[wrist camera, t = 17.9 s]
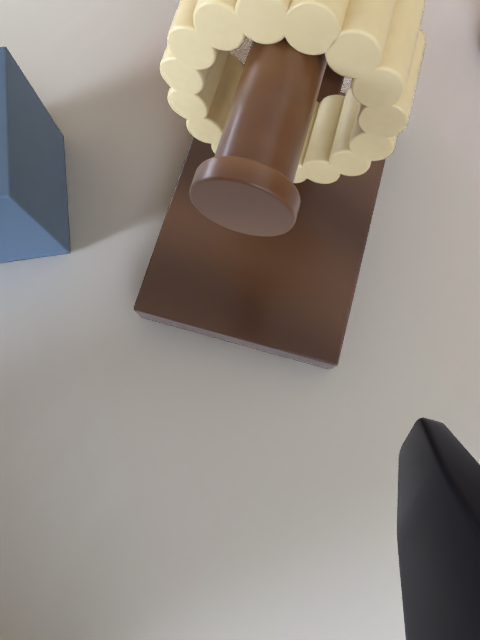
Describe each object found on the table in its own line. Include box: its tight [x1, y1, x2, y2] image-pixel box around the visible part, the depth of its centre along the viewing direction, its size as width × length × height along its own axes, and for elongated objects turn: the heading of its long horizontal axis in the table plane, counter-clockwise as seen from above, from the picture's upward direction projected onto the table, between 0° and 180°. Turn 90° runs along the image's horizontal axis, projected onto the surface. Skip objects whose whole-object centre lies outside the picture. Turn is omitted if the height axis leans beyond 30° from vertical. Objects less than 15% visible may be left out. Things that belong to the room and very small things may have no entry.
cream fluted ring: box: [160, 0, 426, 184], centre depth 12 cm, size 3×7×7 cm, turn 74°
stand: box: [134, 37, 386, 369], centre depth 15 cm, size 13×9×13 cm
